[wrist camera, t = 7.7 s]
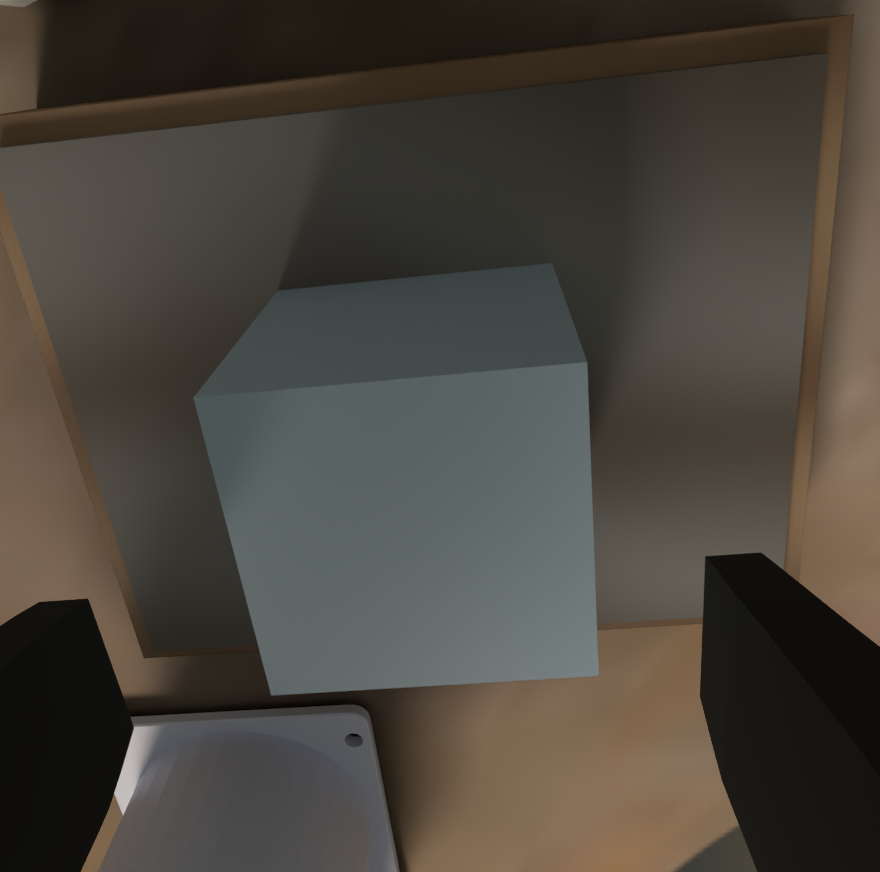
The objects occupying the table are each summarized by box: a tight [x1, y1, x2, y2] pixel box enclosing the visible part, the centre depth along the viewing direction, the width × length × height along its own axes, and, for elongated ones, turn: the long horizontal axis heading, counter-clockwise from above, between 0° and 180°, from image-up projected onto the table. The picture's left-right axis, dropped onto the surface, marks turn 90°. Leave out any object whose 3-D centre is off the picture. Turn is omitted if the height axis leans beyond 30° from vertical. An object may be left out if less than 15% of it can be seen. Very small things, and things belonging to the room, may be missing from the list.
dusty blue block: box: [194, 263, 599, 696], centre depth 14 cm, size 5×5×5 cm
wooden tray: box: [0, 15, 854, 658], centre depth 17 cm, size 12×15×3 cm
